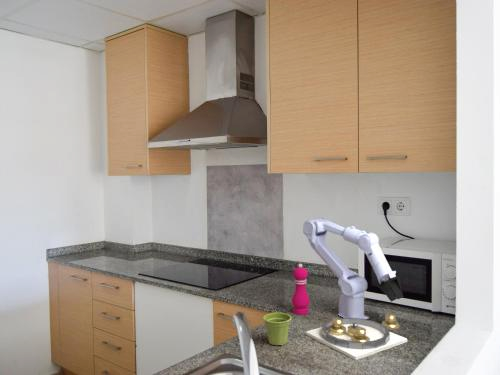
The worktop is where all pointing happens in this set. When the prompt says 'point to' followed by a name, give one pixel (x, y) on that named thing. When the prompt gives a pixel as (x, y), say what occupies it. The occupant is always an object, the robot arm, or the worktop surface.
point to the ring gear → (357, 344)
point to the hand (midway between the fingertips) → (397, 299)
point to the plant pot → (277, 327)
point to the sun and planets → (353, 330)
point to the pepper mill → (300, 291)
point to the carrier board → (352, 353)
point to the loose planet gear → (390, 322)
